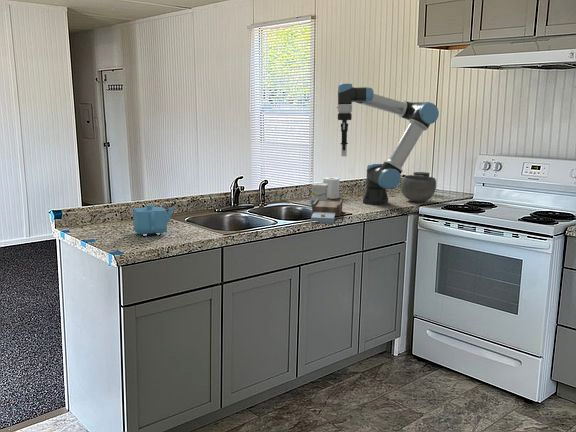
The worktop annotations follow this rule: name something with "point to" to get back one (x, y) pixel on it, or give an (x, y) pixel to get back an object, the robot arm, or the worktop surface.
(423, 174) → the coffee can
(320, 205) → the walnut box
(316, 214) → the cover plate
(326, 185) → the ink box
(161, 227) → the teapot
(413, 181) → the bowl
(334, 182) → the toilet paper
